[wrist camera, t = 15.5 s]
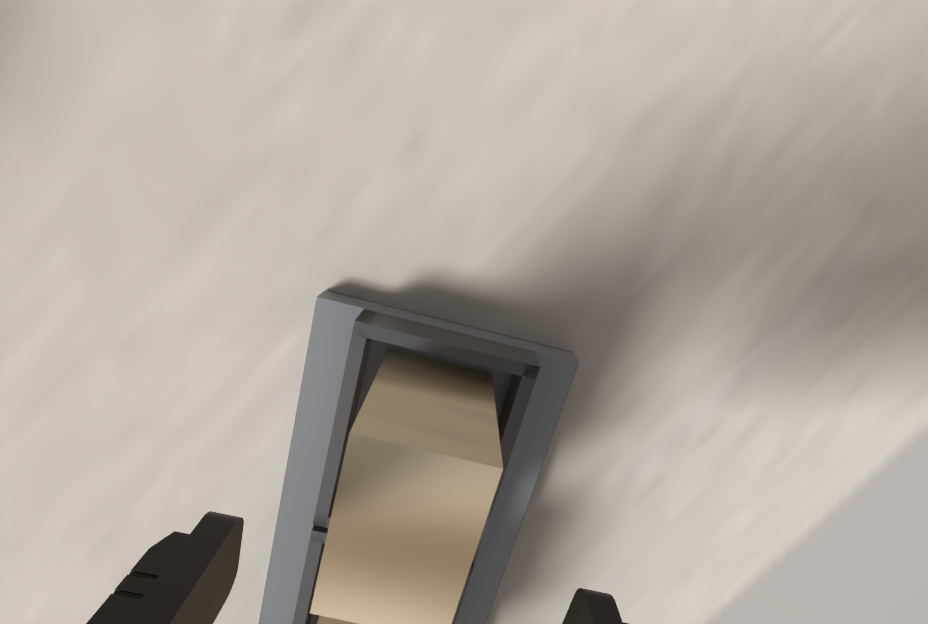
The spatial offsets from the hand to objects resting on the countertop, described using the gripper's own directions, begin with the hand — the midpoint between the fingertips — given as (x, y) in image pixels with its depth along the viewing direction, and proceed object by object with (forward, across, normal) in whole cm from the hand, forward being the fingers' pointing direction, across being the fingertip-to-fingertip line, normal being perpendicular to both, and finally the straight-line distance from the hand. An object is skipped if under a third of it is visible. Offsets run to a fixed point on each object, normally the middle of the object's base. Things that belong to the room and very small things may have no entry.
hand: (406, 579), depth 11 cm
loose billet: (+8, 0, +1) cm, 8 cm away
